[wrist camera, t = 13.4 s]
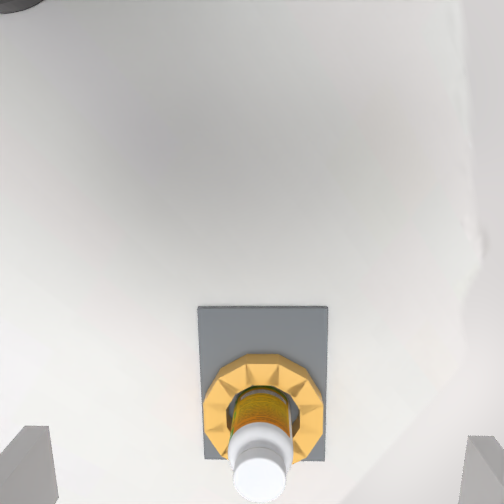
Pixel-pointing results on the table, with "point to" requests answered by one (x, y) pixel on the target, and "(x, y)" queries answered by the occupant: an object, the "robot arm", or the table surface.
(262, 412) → the supplement bottle
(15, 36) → the table surface
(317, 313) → the slate mat
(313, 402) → the golden tan faceted ring
